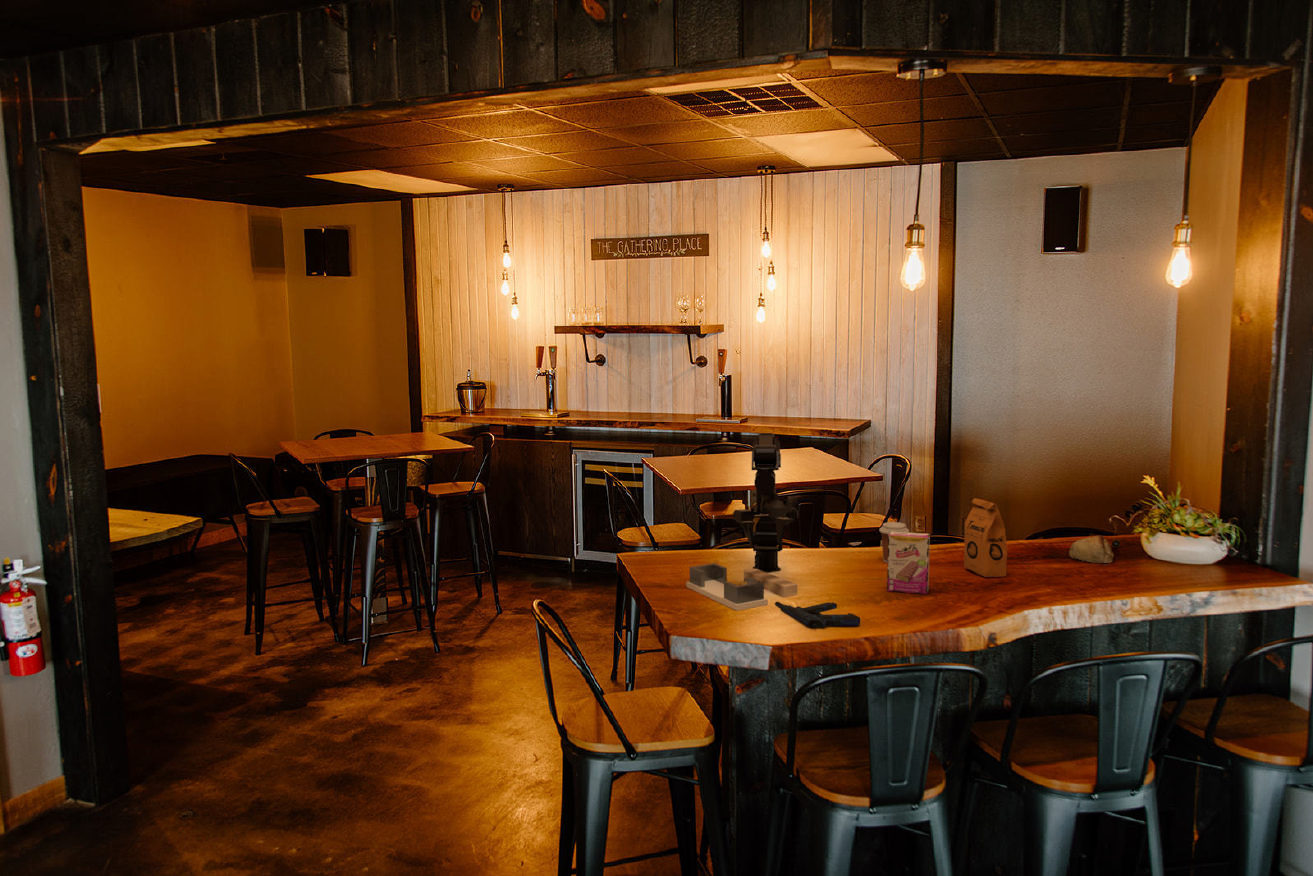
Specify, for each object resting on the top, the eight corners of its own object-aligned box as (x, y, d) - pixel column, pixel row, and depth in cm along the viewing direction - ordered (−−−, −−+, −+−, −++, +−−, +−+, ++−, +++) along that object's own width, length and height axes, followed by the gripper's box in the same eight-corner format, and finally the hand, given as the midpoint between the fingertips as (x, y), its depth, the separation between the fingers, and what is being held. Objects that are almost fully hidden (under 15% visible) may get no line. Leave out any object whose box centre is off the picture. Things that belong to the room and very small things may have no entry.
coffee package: (980, 579, 256) (982, 505, 254) (959, 569, 268) (960, 498, 266) (1012, 577, 258) (1014, 504, 255) (989, 567, 270) (991, 496, 268)
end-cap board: (686, 587, 254) (686, 581, 254) (715, 582, 259) (715, 577, 259) (736, 610, 231) (736, 605, 231) (767, 604, 235) (767, 599, 235)
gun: (821, 604, 240) (771, 609, 235) (821, 594, 239) (771, 599, 235) (868, 627, 217) (813, 633, 213) (868, 615, 217) (813, 622, 212)
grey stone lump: (1122, 564, 270) (1123, 539, 269) (1082, 565, 270) (1083, 540, 269) (1100, 553, 284) (1101, 529, 283) (1061, 554, 284) (1062, 530, 283)
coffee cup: (885, 556, 285) (885, 520, 284) (912, 560, 280) (913, 523, 279) (874, 562, 278) (874, 525, 277) (902, 566, 273) (903, 528, 271)
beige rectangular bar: (743, 582, 259) (743, 570, 259) (756, 580, 262) (756, 568, 261) (784, 598, 242) (784, 586, 242) (797, 596, 244) (797, 584, 244)
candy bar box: (886, 592, 245) (887, 534, 244) (888, 587, 250) (888, 530, 248) (928, 595, 242) (929, 536, 240) (929, 590, 246) (929, 533, 245)
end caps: (689, 582, 254) (689, 567, 253) (714, 578, 258) (714, 563, 257) (737, 604, 232) (736, 587, 231) (763, 599, 236) (763, 582, 235)
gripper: (751, 493, 239) (751, 550, 239) (808, 490, 246) (809, 545, 247) (731, 490, 249) (731, 545, 249) (787, 487, 256) (787, 540, 257)
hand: (765, 544), depth 250 cm, fingers open, 9 cm apart
